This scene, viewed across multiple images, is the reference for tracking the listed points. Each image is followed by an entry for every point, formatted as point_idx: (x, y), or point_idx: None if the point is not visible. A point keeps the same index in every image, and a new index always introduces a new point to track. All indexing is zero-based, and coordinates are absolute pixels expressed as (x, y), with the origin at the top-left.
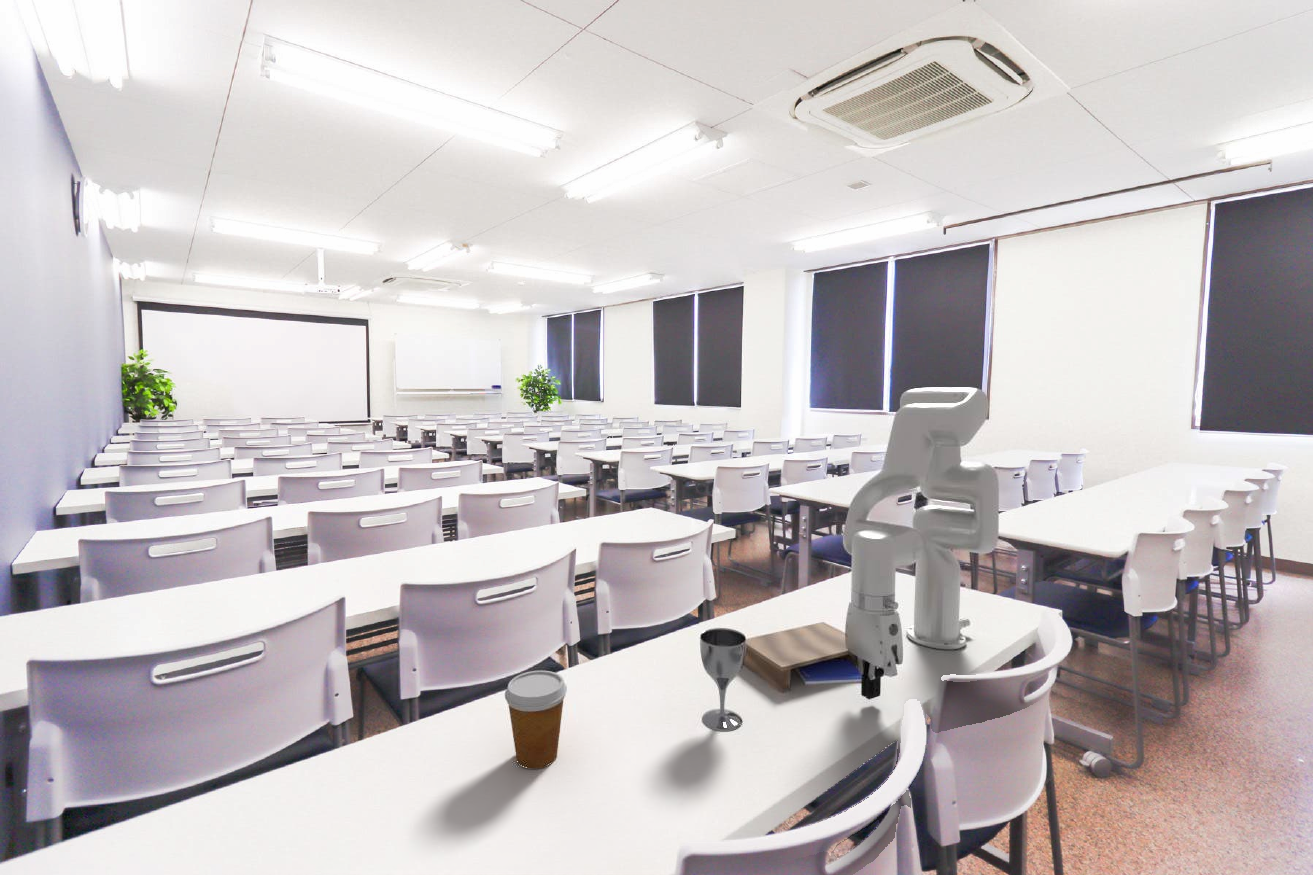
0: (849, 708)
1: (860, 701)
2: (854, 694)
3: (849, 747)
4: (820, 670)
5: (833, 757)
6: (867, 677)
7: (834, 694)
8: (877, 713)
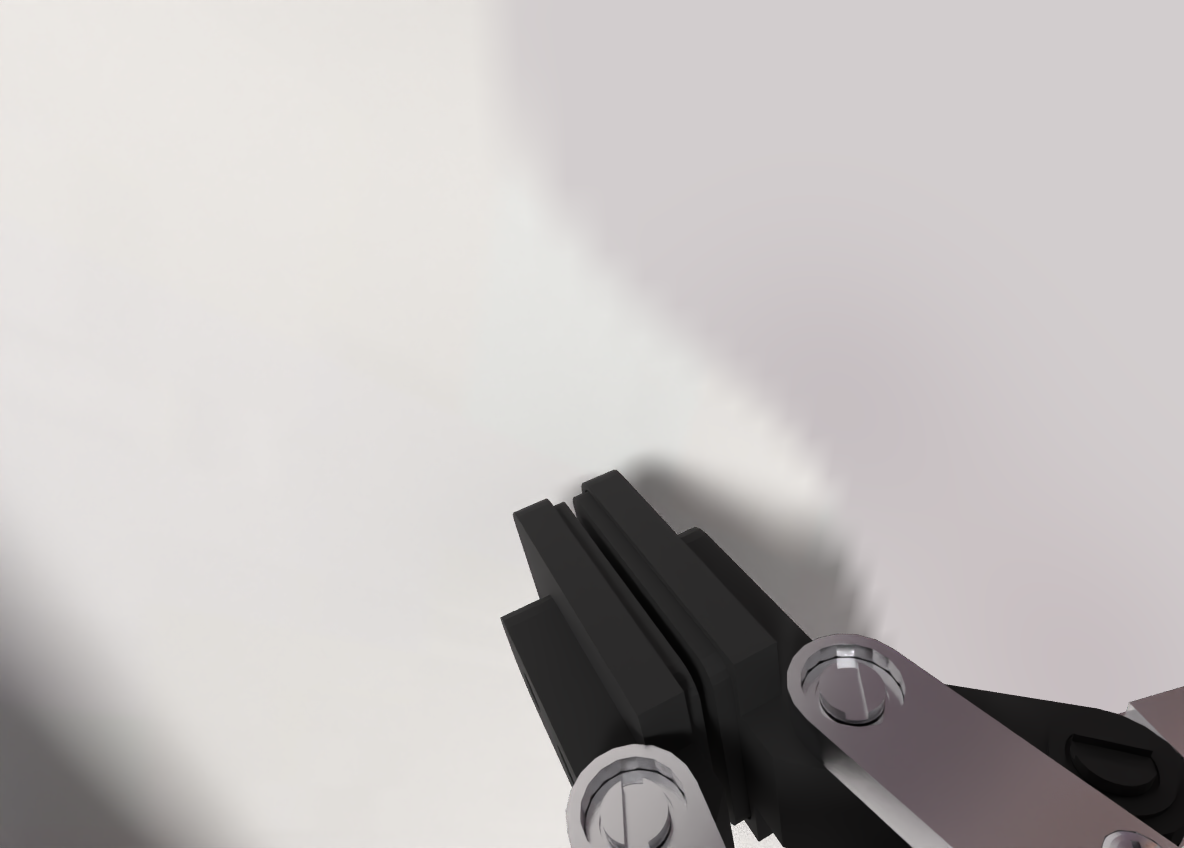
0: None
1: (471, 585)
2: (310, 606)
3: None
4: None
5: None
6: (761, 825)
7: (292, 786)
8: (694, 504)
